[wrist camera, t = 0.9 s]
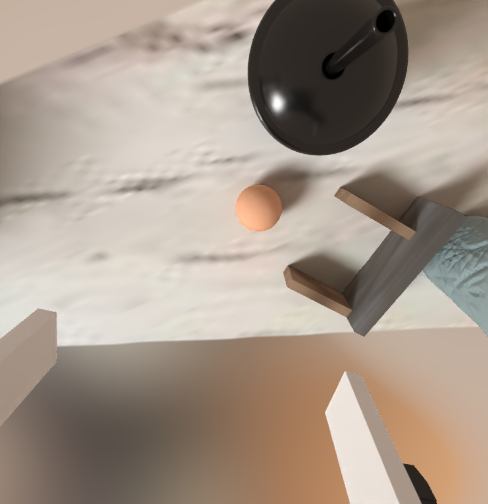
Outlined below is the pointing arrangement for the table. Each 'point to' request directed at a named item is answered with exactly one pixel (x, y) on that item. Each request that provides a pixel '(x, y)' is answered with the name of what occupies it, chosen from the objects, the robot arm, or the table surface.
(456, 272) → the blue-grey embossed pot
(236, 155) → the table surface
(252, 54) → the drinking cup
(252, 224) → the ball
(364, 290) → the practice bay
